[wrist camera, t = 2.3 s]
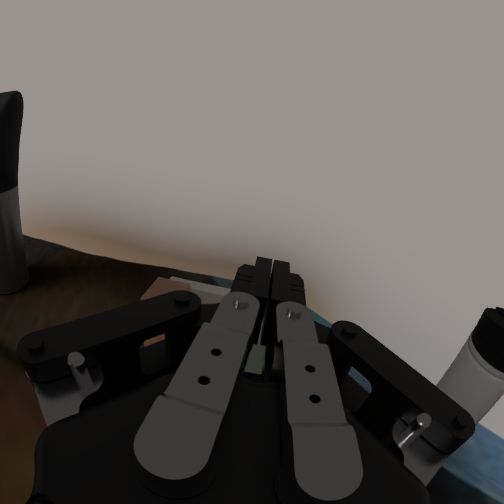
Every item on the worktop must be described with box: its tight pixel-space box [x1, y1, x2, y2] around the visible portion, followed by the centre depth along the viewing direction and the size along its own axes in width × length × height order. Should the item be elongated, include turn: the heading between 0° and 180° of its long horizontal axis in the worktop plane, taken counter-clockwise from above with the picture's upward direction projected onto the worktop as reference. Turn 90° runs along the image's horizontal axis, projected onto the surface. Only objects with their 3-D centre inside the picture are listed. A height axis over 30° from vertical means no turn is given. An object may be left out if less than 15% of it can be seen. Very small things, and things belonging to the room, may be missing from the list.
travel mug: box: [436, 307, 504, 425], centre depth 16 cm, size 6×7×20 cm
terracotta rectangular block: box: [140, 277, 190, 346], centre depth 31 cm, size 4×5×7 cm
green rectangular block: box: [245, 317, 266, 374], centre depth 30 cm, size 4×5×7 cm
